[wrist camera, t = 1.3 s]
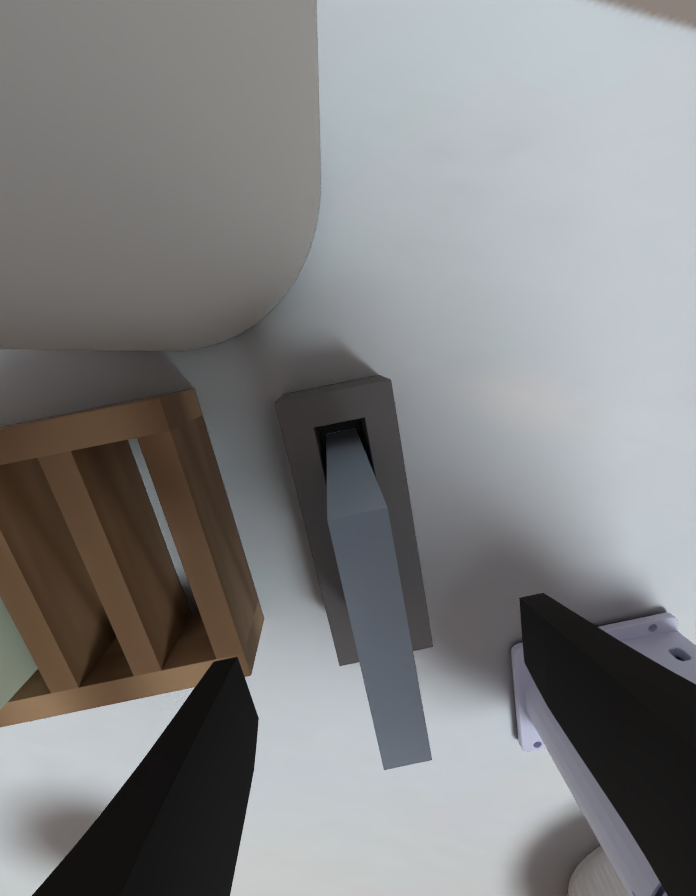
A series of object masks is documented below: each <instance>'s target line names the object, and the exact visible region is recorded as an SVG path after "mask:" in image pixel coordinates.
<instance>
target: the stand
mask: <svg viewBox="0 0 696 896" xmlns="http://www.w3.org/2000/svg"><path fill="white" fill-rule="evenodd" d="M275 406H276V410H277V414H278V418H279V422H280V426H281V430H282V434H283V438H284V442H285V446H286V450H287V454H288V458H289V462H290V467H291V471H292V475H293V479H294V483H295V487H296V491H297V495H298V499H299V503H300V507H301V511H302V515H303V519H304V523H305V527H306V531H307V535H308V540H309V544H310V548H311V552H312V556H313V560H314V564H315V568H316V572H317V576H318V580H319V584H320V588H321V592H322V596H323V600H324V604H325V608H326V613H327V617H328V621H329V625H330V629H331V633H332V637H333V641H334V645H335V649H336V653H337V657H338V661H339V665H340V666H343V665H348V664H352V663H357V662H359V657H358V653H357V649H356V644H355V640H354V635H353V631H352V627H351V622H350V618H349V613H348V609H347V605H346V600H345V596H344V591H343V587H342V583H341V578H340V574H339V569H338V565H337V561H336V556H335V552H334V547H333V543H332V539H331V534H330V530H329V525H328V521H327V465H326V460H325V456H324V451H323V446H322V442H321V437H320V433H319V428H318V427H319V426H324V425H329V424H334V423H339V422H344V421H349V420H354V419H359V418H360V419H361V425H362V430H363V435H364V441H365V446H366V452H367V457H368V460H369V463H370V465H371V468H372V470H373V473H374V475H375V478H376V480H377V483H378V485H379V488H380V490H381V493H382V495H383V498H384V500H385V502H386V505H387V507H388V513H389V519H390V524H391V530H392V536H393V541H394V547H395V553H396V558H397V564H398V570H399V575H400V581H401V587H402V592H403V598H404V604H405V610H406V615H407V621H408V627H409V632H410V638H411V644H412V649H413V651H415V650H420V649H425V648H430V647H433V644H432V638H431V631H430V625H429V619H428V612H427V606H426V599H425V593H424V587H423V580H422V574H421V568H420V561H419V555H418V549H417V542H416V536H415V530H414V523H413V517H412V510H411V504H410V498H409V491H408V485H407V479H406V472H405V466H404V460H403V453H402V447H401V441H400V434H399V428H398V422H397V415H396V409H395V402H394V396H393V390H392V383H391V380H390V379H388V378H385V377H383V376H380V375H377V376H372V377H367V378H362V379H357V380H352V381H347V382H342V383H337V384H332V385H327V386H322V387H317V388H312V389H307V390H302V391H297V392H292V393H287V394H284V395H282V396H281V397H280V398H279V399H278V400H277V401H276V402H275Z"/></svg>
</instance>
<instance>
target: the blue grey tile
mask: <svg viewBox="0 0 696 896" xmlns="http://www.w3.org/2000/svg"><path fill="white" fill-rule="evenodd" d="M326 447H327V521H328V525H329V530H330V534H331V539H332V543H333V547H334V552H335V556H336V561H337V565H338V569H339V574H340V578H341V583H342V587H343V591H344V596H345V600H346V605H347V609H348V613H349V618H350V622H351V627H352V631H353V635H354V640H355V644H356V649H357V653H358V657H359V662H360V666H361V671H362V675H363V679H364V684H365V688H366V693H367V697H368V701H369V706H370V710H371V715H372V719H373V723H374V728H375V732H376V737H377V741H378V745H379V750H380V754H381V758H382V763H383V767H384V770H387V769H391V768H396V767H401V766H406V765H410V764H415V763H420V762H425V761H429V760H432V757H431V751H430V746H429V740H428V734H427V729H426V723H425V717H424V712H423V706H422V700H421V695H420V689H419V683H418V678H417V672H416V666H415V661H414V655H413V649H412V644H411V638H410V632H409V627H408V621H407V615H406V610H405V604H404V598H403V592H402V587H401V581H400V575H399V570H398V564H397V558H396V553H395V547H394V541H393V536H392V530H391V524H390V519H389V513H388V507H387V505H386V502H385V500H384V498H383V495H382V493H381V490H380V488H379V485H378V483H377V480H376V478H375V475H374V473H373V470H372V468H371V465H370V463H369V460H368V458H367V455H366V453H365V450H364V448H363V445H362V443H361V440H360V438H359V435H358V433H357V430H356V428H353V429H348V430H343V431H339V432H334V433H329V434H326Z"/></svg>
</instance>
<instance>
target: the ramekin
mask: <svg viewBox="0 0 696 896" xmlns="http://www.w3.org/2000/svg"><path fill="white" fill-rule="evenodd" d="M568 896H629V895H628V893H627V891H626V889H625V888H624V886H623V884H622V882H621V880H620V879H619V877H618V875H617V873H616V872H615V870H614V868H613V866H612V864H611V863H610V861H609V859H608V857H607V855H606V854H605V852H604V850H603V848H602V847H601V846H599V847H598V848H596V849H595V850H593V851H592V852H591V853H589V854H588V855H587V856H586V857H585V858H584V859H583V860H582V861H581V862H580V863H579V864H578V866H577V867H576V868H575V870H574V872H573V874H572V876H571V878H570V881H569V885H568Z"/></svg>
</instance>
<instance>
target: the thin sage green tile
mask: <svg viewBox="0 0 696 896" xmlns="http://www.w3.org/2000/svg"><path fill="white" fill-rule="evenodd" d="M37 669H38V667H37V665H36V664H35V662H34V660H33V658H32V656H31V654H30V652H29V650H28V648H27V647H26V645H25V643H24V641H23V639H22V637H21V635H20V633H19V631H18V629H17V628H16V626H15V624H14V622H13V620H12V618H11V616H10V614H9V612H8V611H7V609H6V607H5V605H4V603H3V601H2V599H1V597H0V710H1V709H2V708H3V706H4V705H5V704H6V703H7V702H8V701H9V700H10V699H11V698H12V697H13V696H14V694H15V693H16V692H17V691H18V690H19V689H20V688H21V687H22V686H23V685H24V683H25V682H26V681H27V680H28V679H29V678H30V677H31V676H32V675H33V674H34V673H35V671H36V670H37Z"/></svg>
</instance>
